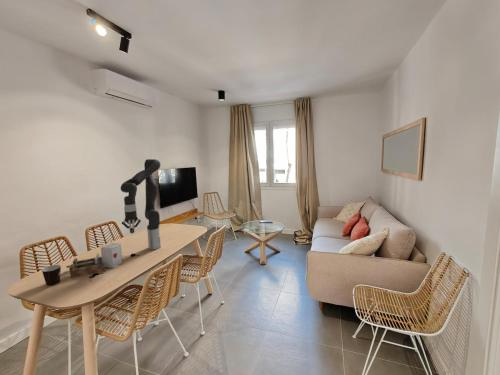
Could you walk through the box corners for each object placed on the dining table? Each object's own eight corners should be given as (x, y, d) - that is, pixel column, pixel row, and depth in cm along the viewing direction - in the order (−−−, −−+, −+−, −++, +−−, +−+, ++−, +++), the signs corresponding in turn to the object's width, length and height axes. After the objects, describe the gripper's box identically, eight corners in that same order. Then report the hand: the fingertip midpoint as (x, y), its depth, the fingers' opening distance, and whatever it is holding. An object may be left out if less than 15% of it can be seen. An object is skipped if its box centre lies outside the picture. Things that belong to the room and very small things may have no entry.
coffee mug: (51, 279, 139) (49, 264, 137) (66, 279, 139) (64, 264, 138) (35, 290, 127) (33, 274, 126) (51, 289, 128) (49, 273, 127)
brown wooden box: (106, 262, 162) (106, 253, 161) (104, 271, 149) (103, 261, 148) (75, 268, 153) (74, 258, 153) (70, 278, 140) (69, 267, 139)
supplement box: (113, 268, 152) (111, 248, 150) (102, 267, 154) (100, 247, 152) (122, 262, 161) (121, 243, 159) (112, 261, 163) (110, 242, 161)
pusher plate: (100, 263, 158) (99, 253, 157) (98, 270, 149) (97, 259, 148) (69, 269, 150) (67, 258, 149) (65, 277, 141) (63, 265, 140)
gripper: (140, 208, 166) (142, 230, 168) (120, 210, 159) (122, 233, 162) (140, 210, 159) (142, 233, 161) (119, 212, 153) (121, 236, 155)
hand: (132, 233), depth 161 cm, fingers closed
